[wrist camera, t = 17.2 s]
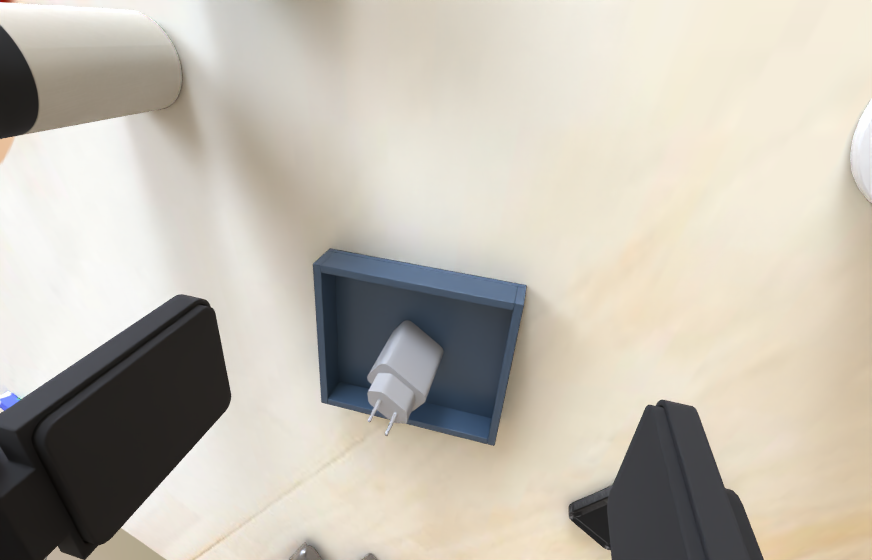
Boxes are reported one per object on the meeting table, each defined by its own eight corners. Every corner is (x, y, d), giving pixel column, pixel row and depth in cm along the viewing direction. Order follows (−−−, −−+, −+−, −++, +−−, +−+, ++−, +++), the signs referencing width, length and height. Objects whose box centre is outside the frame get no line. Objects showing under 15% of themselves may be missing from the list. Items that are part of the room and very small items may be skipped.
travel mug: (193, 44, 39) (-51, 50, 23) (175, 125, 43) (-43, 177, 27) (111, -10, 38) (-194, -41, 23) (101, 78, 42) (-163, 102, 27)
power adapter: (407, 317, 46) (362, 399, 36) (446, 351, 47) (413, 440, 36) (389, 334, 47) (341, 416, 37) (428, 366, 48) (391, 455, 38)
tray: (526, 284, 42) (524, 304, 38) (498, 421, 50) (494, 446, 47) (329, 248, 45) (312, 263, 42) (335, 381, 54) (321, 402, 50)
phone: (564, 514, 53) (680, 466, 45) (564, 506, 54) (678, 457, 46) (609, 553, 54) (730, 511, 47) (608, 543, 55) (726, 502, 48)
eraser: (9, 389, 73) (-5, 398, 71) (41, 413, 74) (28, 422, 72) (6, 395, 73) (-7, 404, 72) (38, 418, 75) (25, 427, 73)
